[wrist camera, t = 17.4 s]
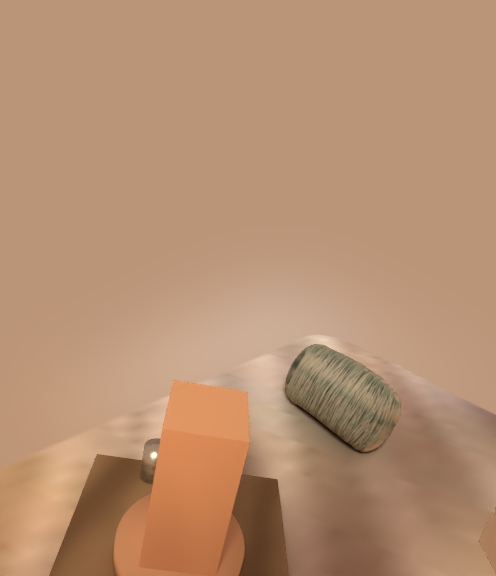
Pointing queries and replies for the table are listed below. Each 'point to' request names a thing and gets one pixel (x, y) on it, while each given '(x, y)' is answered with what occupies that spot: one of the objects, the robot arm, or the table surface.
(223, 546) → the tall pillar on disc
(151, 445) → the dowels
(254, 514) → the plate
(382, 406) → the spool
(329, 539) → the table surface
